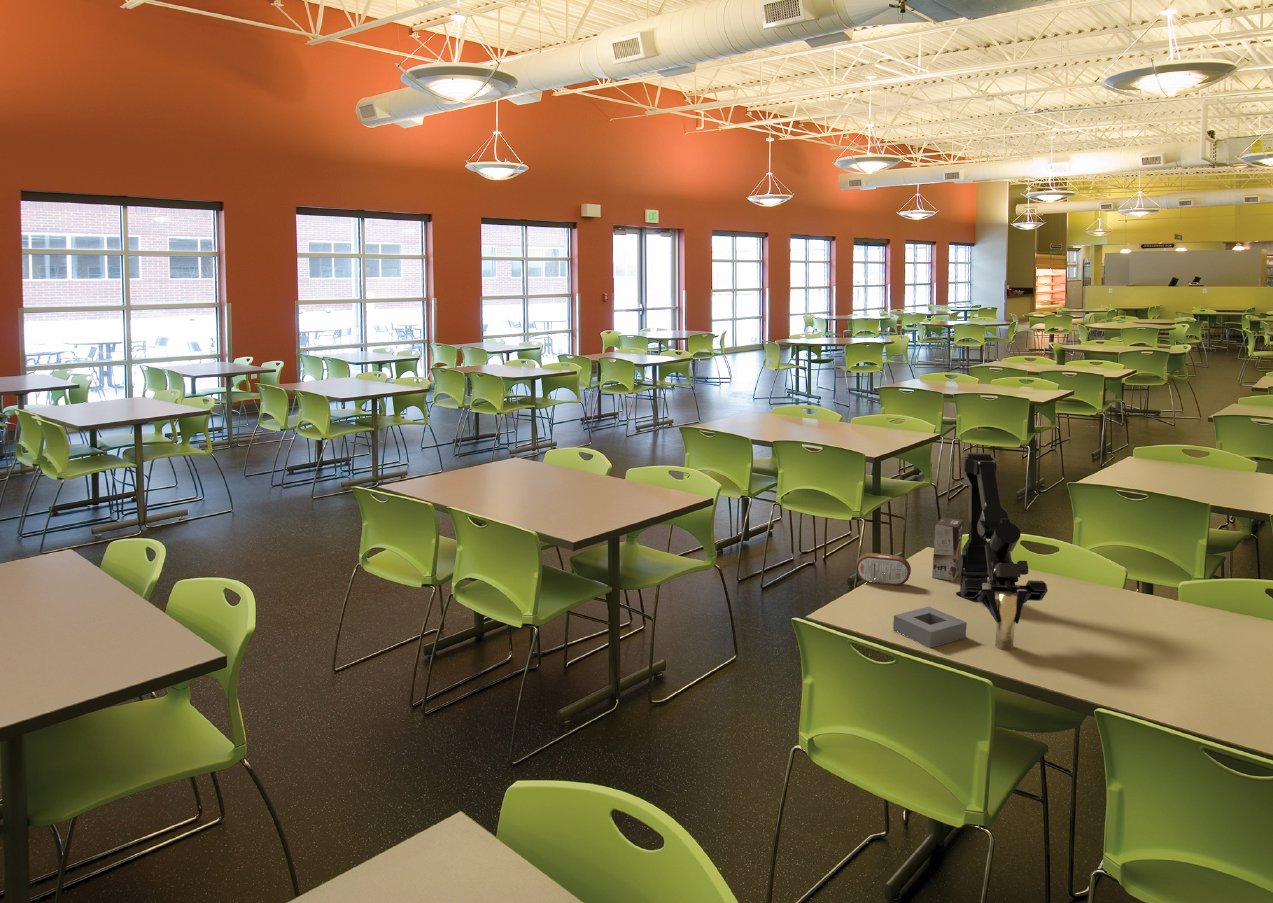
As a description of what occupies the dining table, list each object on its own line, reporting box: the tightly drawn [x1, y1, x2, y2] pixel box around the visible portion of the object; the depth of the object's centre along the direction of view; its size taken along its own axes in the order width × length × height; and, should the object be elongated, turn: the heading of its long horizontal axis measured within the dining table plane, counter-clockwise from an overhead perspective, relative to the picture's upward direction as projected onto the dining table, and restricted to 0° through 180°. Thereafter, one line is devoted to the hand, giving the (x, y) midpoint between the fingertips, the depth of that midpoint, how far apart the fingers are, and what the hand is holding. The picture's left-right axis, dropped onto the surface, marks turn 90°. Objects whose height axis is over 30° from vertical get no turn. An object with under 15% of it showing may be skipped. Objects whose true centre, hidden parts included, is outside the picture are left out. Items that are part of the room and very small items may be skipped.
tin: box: [855, 552, 912, 586], centre depth 259 cm, size 15×3×8 cm, turn 71°
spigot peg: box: [994, 592, 1017, 651], centre depth 215 cm, size 4×4×13 cm
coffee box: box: [931, 517, 964, 582], centre depth 265 cm, size 9×6×16 cm
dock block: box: [892, 606, 968, 649], centre depth 224 cm, size 12×12×4 cm
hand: (1007, 622), depth 214 cm, fingers closed on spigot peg, 4 cm apart
